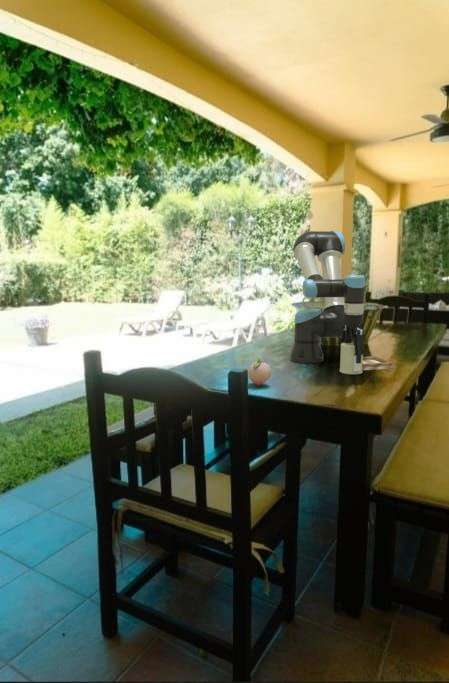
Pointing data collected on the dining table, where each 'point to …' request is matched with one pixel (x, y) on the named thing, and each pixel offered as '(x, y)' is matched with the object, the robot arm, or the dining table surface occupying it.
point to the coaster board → (376, 363)
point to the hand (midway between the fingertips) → (351, 368)
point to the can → (348, 359)
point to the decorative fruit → (259, 372)
